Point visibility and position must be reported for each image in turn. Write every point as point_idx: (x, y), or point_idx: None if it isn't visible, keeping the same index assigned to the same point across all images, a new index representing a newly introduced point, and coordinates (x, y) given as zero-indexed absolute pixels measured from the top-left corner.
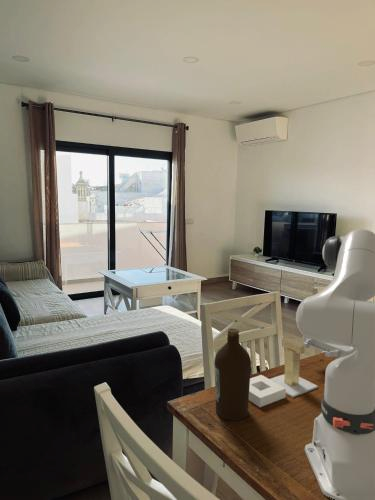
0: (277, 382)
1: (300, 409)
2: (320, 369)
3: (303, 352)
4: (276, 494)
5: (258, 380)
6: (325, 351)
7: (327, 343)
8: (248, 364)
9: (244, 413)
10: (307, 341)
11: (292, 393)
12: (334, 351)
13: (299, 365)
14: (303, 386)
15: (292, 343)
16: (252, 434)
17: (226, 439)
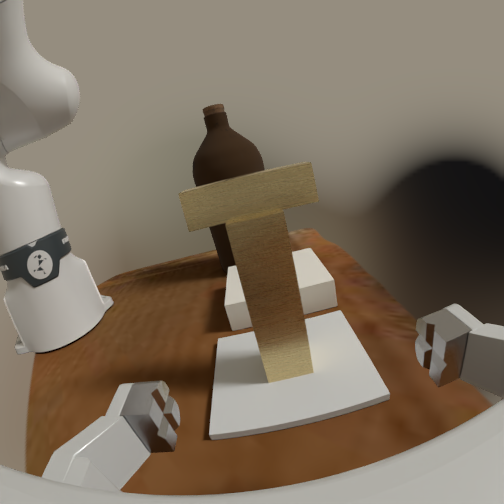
0: (313, 331)
1: (170, 336)
2: None
3: (189, 227)
4: (116, 275)
5: (302, 272)
6: (159, 381)
7: (245, 498)
8: (193, 170)
9: (220, 261)
10: (482, 331)
11: (227, 342)
12: (82, 432)
13: (247, 307)
14: (241, 387)
15: (235, 177)
16: (186, 273)
17: (201, 257)
